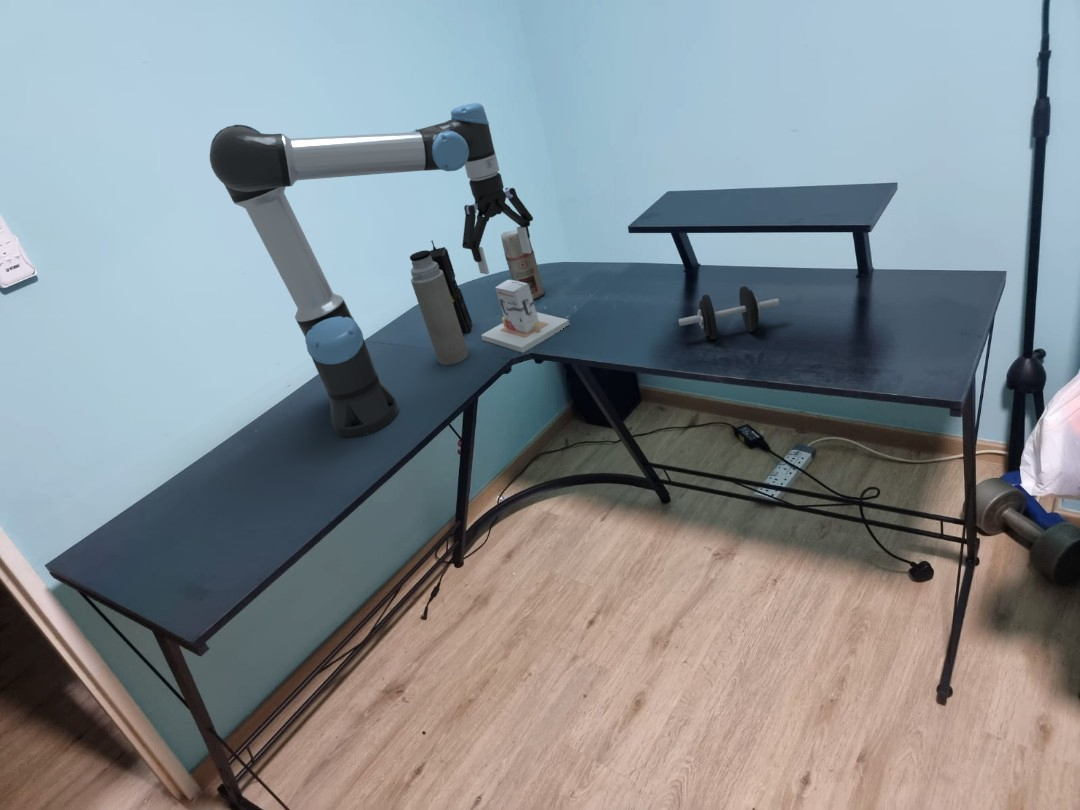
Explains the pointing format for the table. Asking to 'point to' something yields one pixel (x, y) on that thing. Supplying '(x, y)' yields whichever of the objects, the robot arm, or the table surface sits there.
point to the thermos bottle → (437, 309)
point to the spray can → (522, 263)
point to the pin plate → (525, 340)
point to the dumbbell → (729, 312)
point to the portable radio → (452, 287)
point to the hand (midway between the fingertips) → (506, 262)
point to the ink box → (517, 305)
